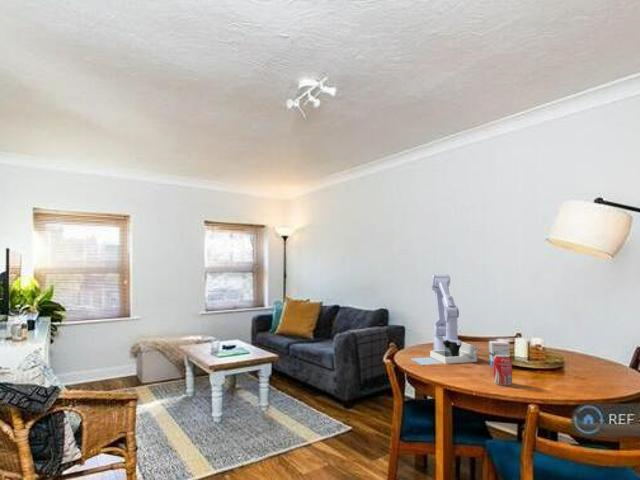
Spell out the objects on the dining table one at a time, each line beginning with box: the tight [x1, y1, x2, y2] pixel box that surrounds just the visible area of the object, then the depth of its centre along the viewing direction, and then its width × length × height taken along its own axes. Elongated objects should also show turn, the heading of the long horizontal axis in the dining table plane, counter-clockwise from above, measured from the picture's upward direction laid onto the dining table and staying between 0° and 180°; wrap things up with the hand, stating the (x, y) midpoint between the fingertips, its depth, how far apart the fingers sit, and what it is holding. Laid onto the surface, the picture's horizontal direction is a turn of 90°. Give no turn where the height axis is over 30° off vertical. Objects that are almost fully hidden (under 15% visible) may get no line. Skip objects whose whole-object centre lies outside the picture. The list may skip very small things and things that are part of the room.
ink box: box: [488, 340, 511, 367], centre depth 194 cm, size 9×5×12 cm, turn 84°
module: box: [445, 347, 460, 357], centre depth 206 cm, size 4×6×6 cm
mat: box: [410, 356, 443, 367], centre depth 202 cm, size 13×11×1 cm
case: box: [429, 341, 480, 365], centre depth 205 cm, size 17×18×8 cm
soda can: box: [492, 354, 513, 387], centre depth 166 cm, size 7×7×12 cm
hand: (452, 356), depth 206 cm, fingers closed on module, 4 cm apart
